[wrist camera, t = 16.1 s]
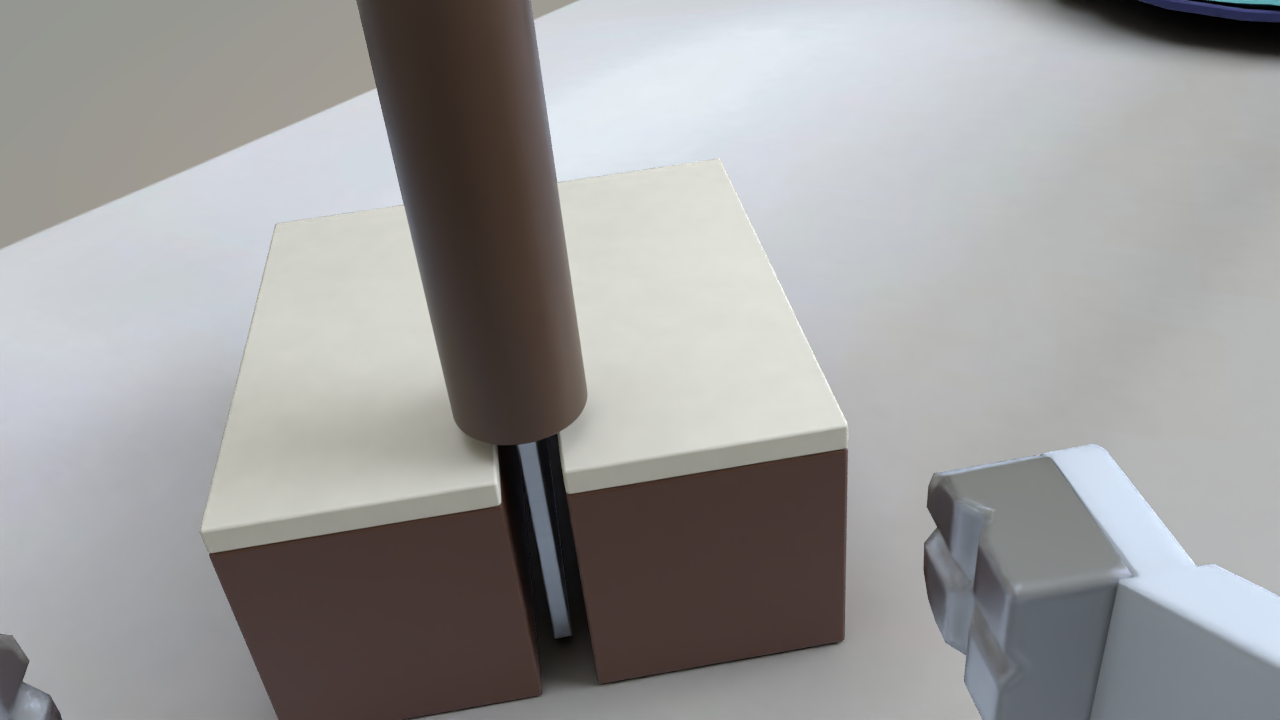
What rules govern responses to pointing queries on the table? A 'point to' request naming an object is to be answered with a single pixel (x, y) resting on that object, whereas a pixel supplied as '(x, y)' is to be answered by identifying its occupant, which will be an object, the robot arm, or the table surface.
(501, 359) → the knife
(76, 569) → the table surface
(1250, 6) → the cutlery set
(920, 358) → the table surface
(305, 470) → the cake
